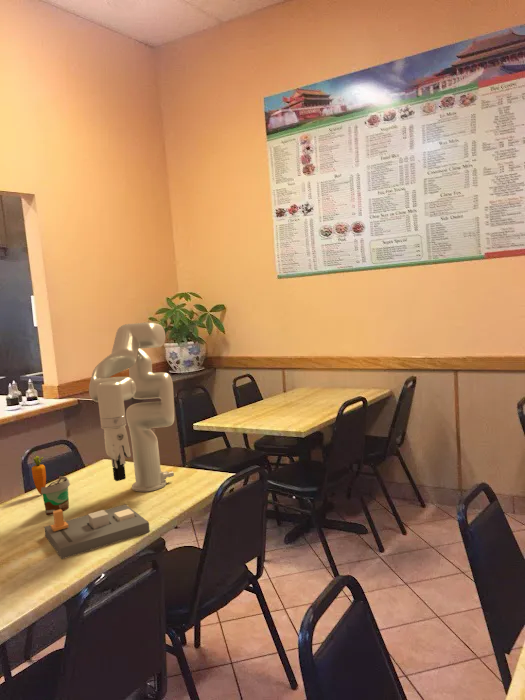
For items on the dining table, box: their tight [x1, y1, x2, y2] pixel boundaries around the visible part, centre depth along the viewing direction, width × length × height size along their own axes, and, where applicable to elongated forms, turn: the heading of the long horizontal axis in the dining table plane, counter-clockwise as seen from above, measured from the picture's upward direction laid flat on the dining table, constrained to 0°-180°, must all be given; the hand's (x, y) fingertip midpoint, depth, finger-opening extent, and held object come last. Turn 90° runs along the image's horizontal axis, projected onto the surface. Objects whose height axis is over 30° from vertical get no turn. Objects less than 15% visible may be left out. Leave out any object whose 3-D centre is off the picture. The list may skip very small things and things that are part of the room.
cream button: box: [114, 509, 135, 522], centre depth 183 cm, size 5×5×4 cm
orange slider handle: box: [50, 509, 69, 531], centre depth 177 cm, size 4×4×5 cm
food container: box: [40, 475, 71, 516], centre depth 202 cm, size 12×6×10 cm, turn 168°
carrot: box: [31, 455, 47, 496], centre depth 219 cm, size 5×5×15 cm
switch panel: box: [43, 504, 150, 560], centre depth 179 cm, size 26×20×3 cm
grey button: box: [87, 509, 109, 529], centre depth 179 cm, size 5×5×4 cm
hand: (119, 479), depth 182 cm, fingers closed
